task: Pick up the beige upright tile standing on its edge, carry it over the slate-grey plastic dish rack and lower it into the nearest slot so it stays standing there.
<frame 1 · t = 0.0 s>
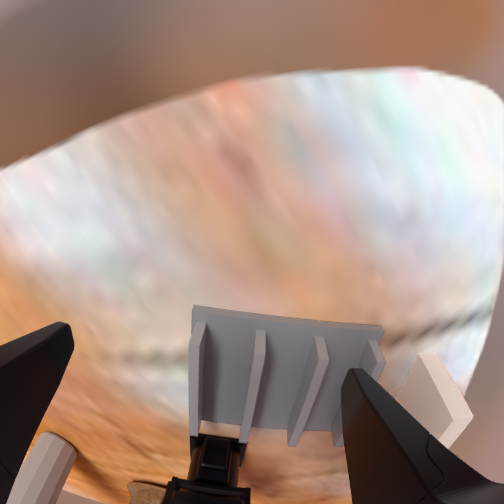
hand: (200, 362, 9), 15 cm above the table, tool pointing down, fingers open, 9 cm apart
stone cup: (157, 494, 41), on the table
dish rack: (277, 378, 28), on the table
water bottle: (57, 441, 38), on the table
beige upright tile: (412, 382, 28), on the table
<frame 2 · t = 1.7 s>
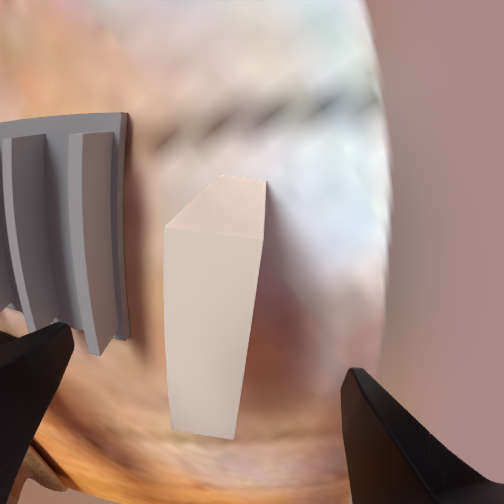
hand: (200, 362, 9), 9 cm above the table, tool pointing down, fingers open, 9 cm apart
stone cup: (24, 444, 31), on the table
dish rack: (25, 223, 17), on the table
beige upright tile: (234, 250, 17), on the table
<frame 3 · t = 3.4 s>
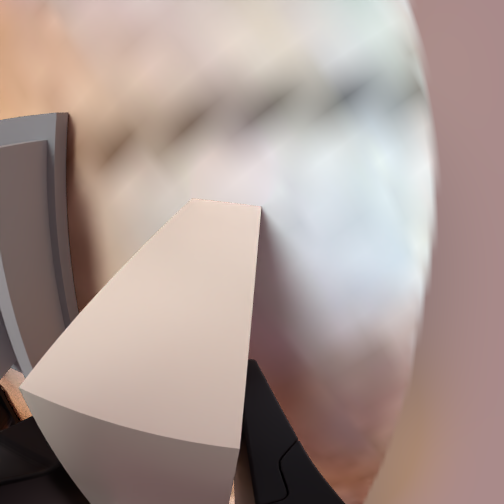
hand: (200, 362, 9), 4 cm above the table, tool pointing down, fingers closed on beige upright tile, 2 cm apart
beige upright tile: (217, 303, 12), on the table, touching gripper
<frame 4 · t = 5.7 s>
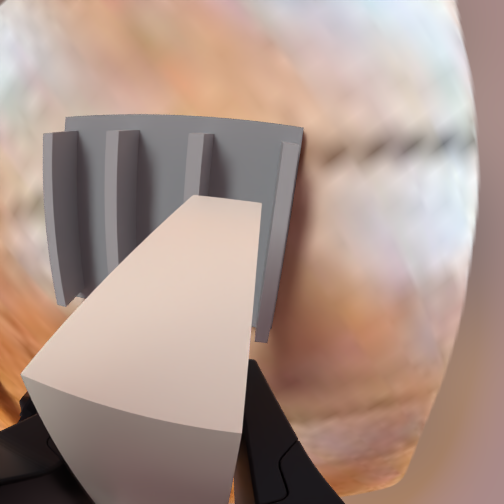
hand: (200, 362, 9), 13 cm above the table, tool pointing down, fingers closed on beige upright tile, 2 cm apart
dish rack: (167, 220, 21), on the table
beige upright tile: (217, 299, 12), point 9 cm above the table, touching gripper
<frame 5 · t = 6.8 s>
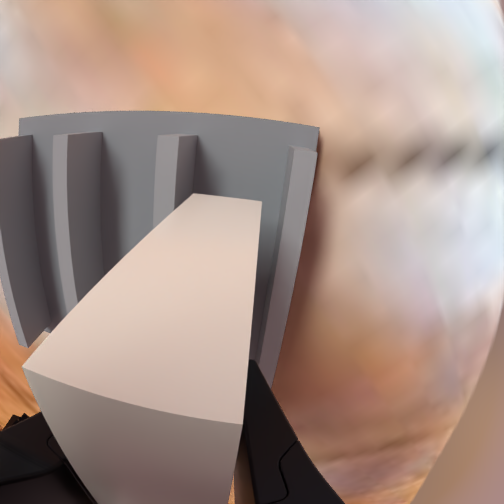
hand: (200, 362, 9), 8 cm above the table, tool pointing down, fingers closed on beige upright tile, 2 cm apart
dish rack: (141, 247, 16), on the table
beige upright tile: (218, 297, 12), point 4 cm above the table, touching gripper
when the fingers open (5 cm above the table, at t = 8.0 s): beige upright tile stays where it is, resting on dish rack.
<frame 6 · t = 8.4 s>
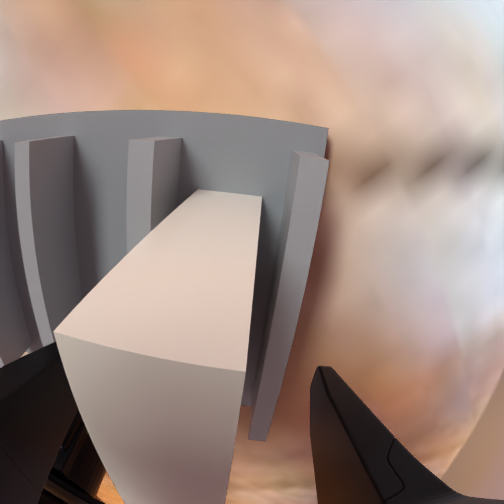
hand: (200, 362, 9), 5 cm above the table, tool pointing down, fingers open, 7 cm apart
dish rack: (122, 266, 14), on the table
beige upright tile: (220, 288, 13), point 1 cm above the table, touching dish rack
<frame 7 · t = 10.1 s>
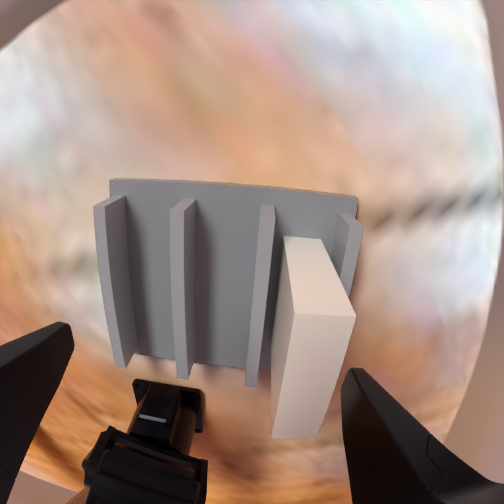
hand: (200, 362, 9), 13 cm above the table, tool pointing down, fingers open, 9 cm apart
dish rack: (225, 283, 22), on the table
beige upright tile: (294, 293, 21), point 1 cm above the table, touching dish rack
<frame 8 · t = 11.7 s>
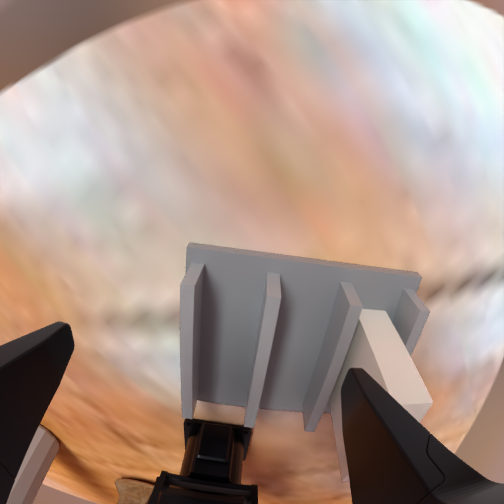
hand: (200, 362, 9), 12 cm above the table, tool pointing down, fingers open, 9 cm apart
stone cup: (149, 493, 37), on the table
dish rack: (292, 343, 23), on the table
water bottle: (38, 430, 33), on the table
beige upright tile: (354, 353, 22), point 1 cm above the table, touching dish rack
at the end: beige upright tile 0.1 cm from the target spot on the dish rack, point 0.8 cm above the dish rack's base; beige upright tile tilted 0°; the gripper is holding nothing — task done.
